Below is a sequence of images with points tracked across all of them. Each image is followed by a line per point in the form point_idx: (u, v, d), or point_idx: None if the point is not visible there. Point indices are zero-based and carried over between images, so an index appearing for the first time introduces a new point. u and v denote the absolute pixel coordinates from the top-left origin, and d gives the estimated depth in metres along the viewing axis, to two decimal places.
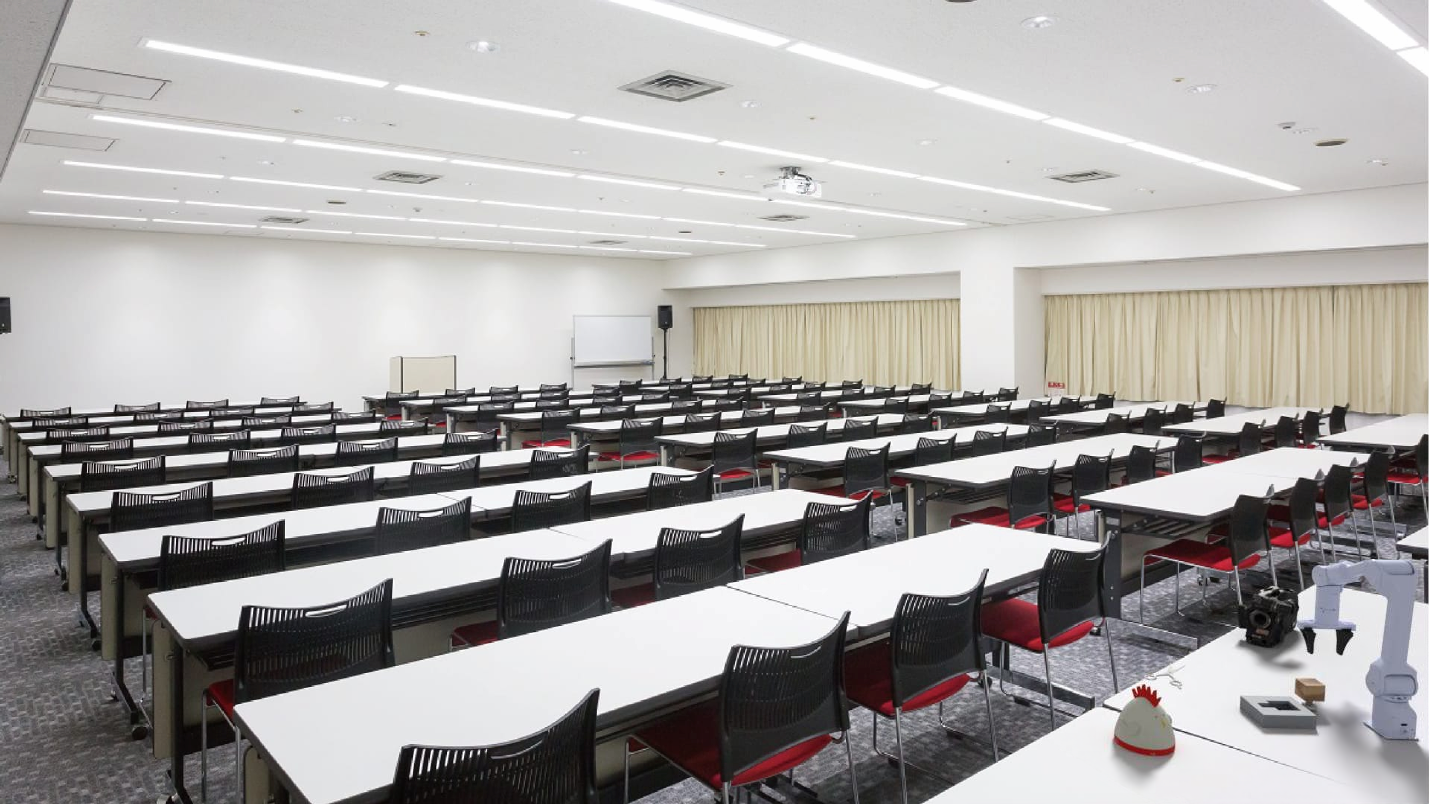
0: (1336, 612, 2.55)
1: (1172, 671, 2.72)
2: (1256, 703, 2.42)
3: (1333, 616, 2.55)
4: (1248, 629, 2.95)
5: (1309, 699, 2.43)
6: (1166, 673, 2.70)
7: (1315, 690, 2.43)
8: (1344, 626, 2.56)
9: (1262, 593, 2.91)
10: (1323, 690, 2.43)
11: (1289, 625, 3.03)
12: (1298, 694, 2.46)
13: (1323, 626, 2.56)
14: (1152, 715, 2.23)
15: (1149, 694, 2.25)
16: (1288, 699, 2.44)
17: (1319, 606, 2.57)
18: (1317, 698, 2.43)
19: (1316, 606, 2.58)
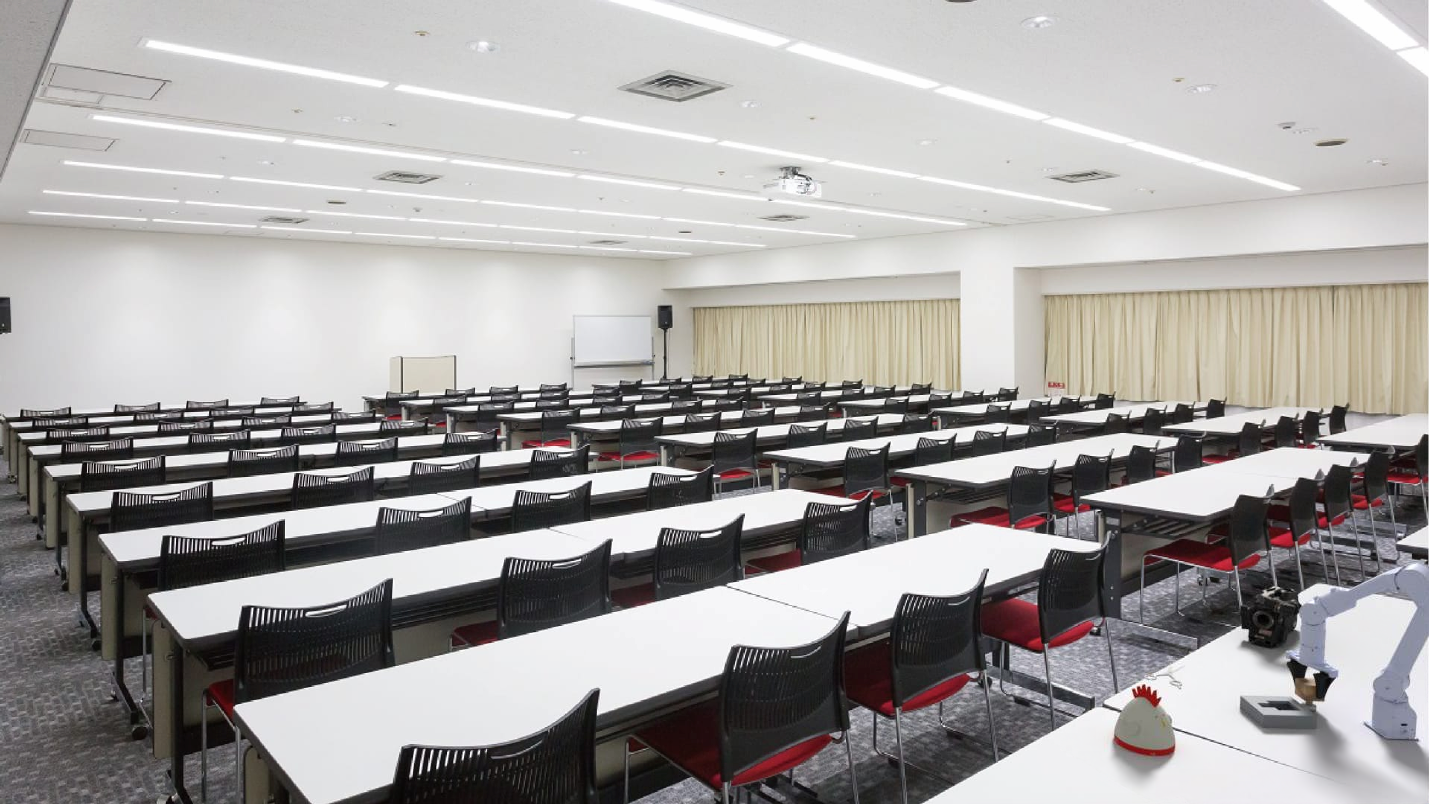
0: (1308, 649, 2.42)
1: (1172, 671, 2.72)
2: (1256, 703, 2.42)
3: (1304, 652, 2.43)
4: (1251, 630, 2.94)
5: (1309, 699, 2.43)
6: (1166, 673, 2.70)
7: (1315, 690, 2.43)
8: (1318, 667, 2.40)
9: (1265, 593, 2.91)
10: None
11: (1290, 625, 3.03)
12: (1298, 694, 2.46)
13: (1297, 660, 2.46)
14: (1152, 715, 2.23)
15: (1149, 694, 2.25)
16: (1288, 699, 2.44)
17: (1313, 646, 2.42)
18: None
19: None
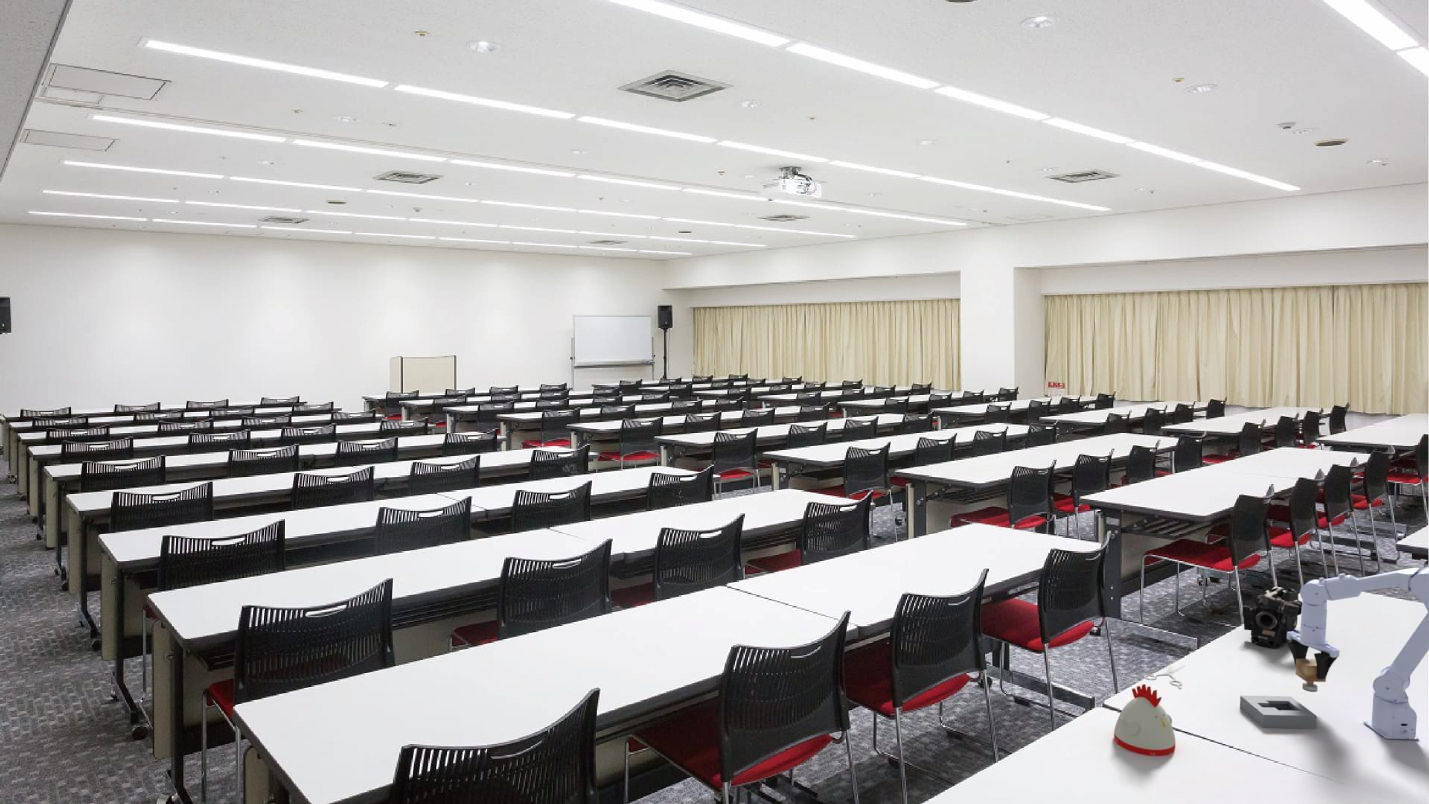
0: (1309, 629, 2.42)
1: (1172, 671, 2.72)
2: (1256, 703, 2.42)
3: (1305, 632, 2.43)
4: (1254, 630, 2.94)
5: (1310, 679, 2.43)
6: (1166, 673, 2.70)
7: (1316, 670, 2.42)
8: (1319, 647, 2.40)
9: (1268, 594, 2.90)
10: None
11: (1291, 625, 3.03)
12: (1299, 675, 2.46)
13: (1298, 640, 2.45)
14: (1152, 715, 2.23)
15: (1149, 694, 2.25)
16: (1288, 699, 2.44)
17: (1314, 626, 2.41)
18: None
19: None
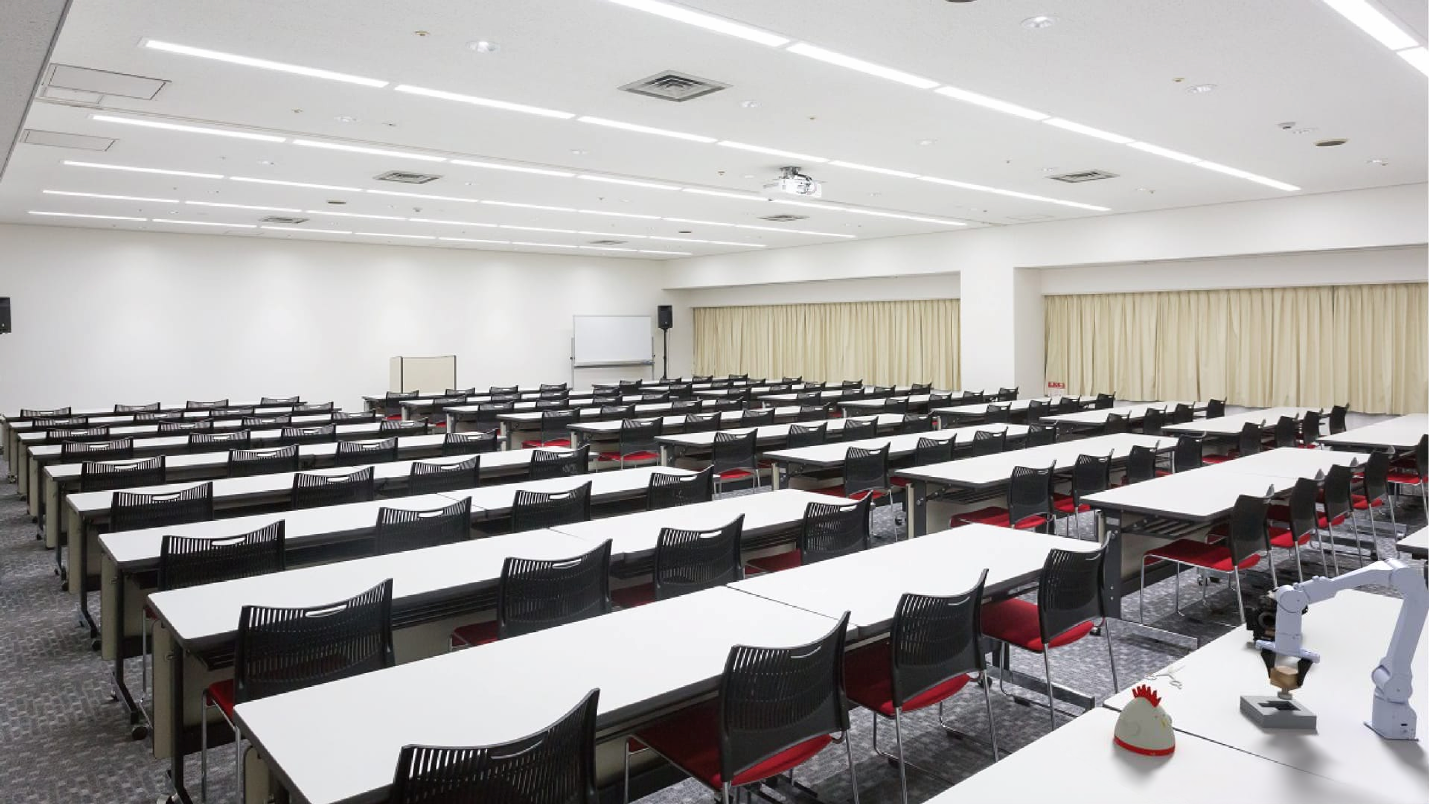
0: (1290, 637, 2.36)
1: (1172, 671, 2.72)
2: (1256, 703, 2.42)
3: (1285, 641, 2.37)
4: (1257, 631, 2.93)
5: (1291, 688, 2.37)
6: (1166, 673, 2.70)
7: (1295, 678, 2.37)
8: (1301, 655, 2.35)
9: (1271, 594, 2.90)
10: None
11: None
12: (1276, 684, 2.40)
13: (1275, 649, 2.39)
14: (1152, 715, 2.23)
15: (1149, 694, 2.25)
16: None
17: (1294, 633, 2.36)
18: (1296, 686, 2.38)
19: None
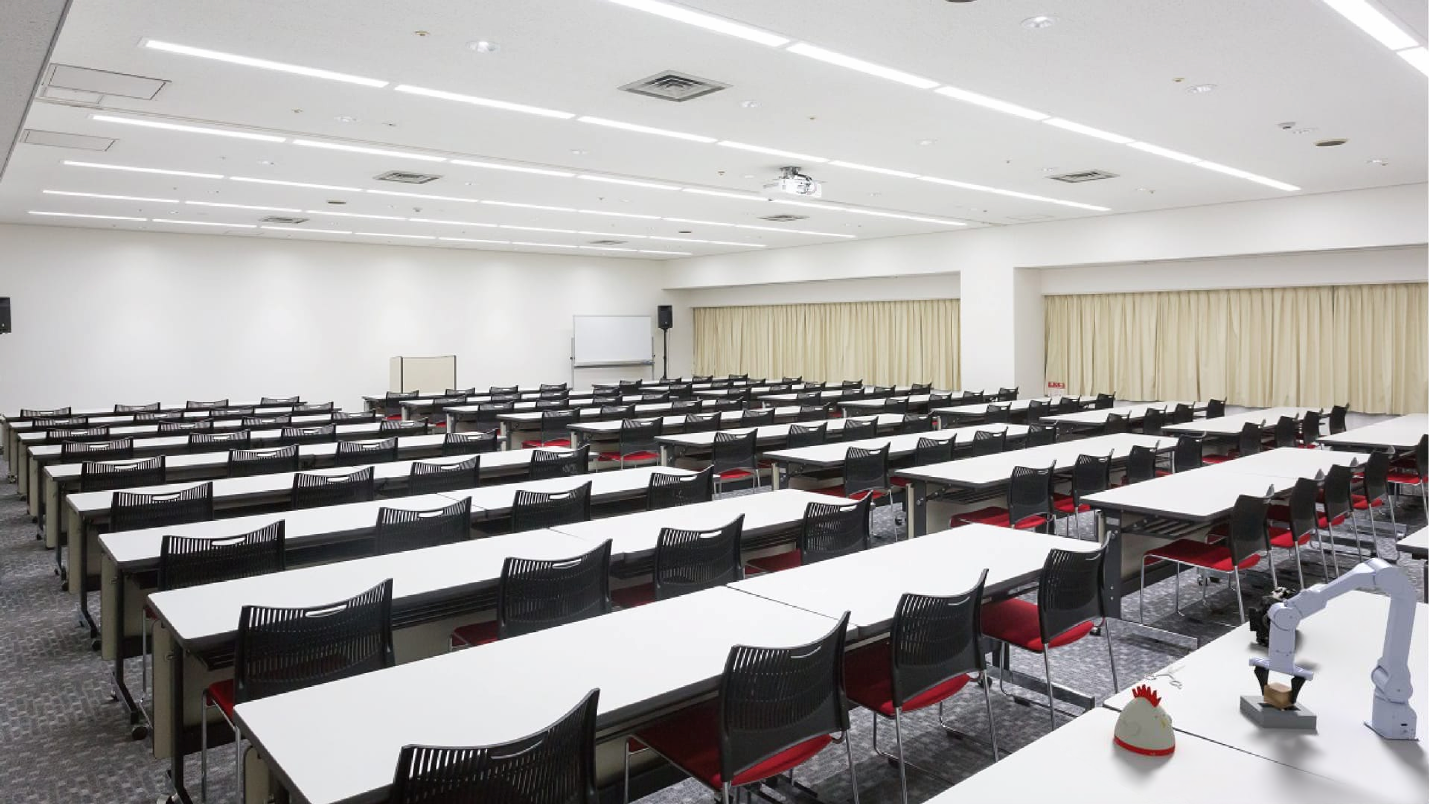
0: (1283, 655, 2.36)
1: (1172, 671, 2.72)
2: (1256, 703, 2.42)
3: (1279, 658, 2.37)
4: (1261, 632, 2.92)
5: (1284, 706, 2.37)
6: (1166, 673, 2.70)
7: (1288, 695, 2.38)
8: (1295, 672, 2.35)
9: (1275, 595, 2.89)
10: None
11: None
12: (1270, 702, 2.40)
13: (1269, 667, 2.39)
14: (1152, 715, 2.23)
15: (1149, 694, 2.25)
16: None
17: (1288, 651, 2.36)
18: (1289, 703, 2.38)
19: None
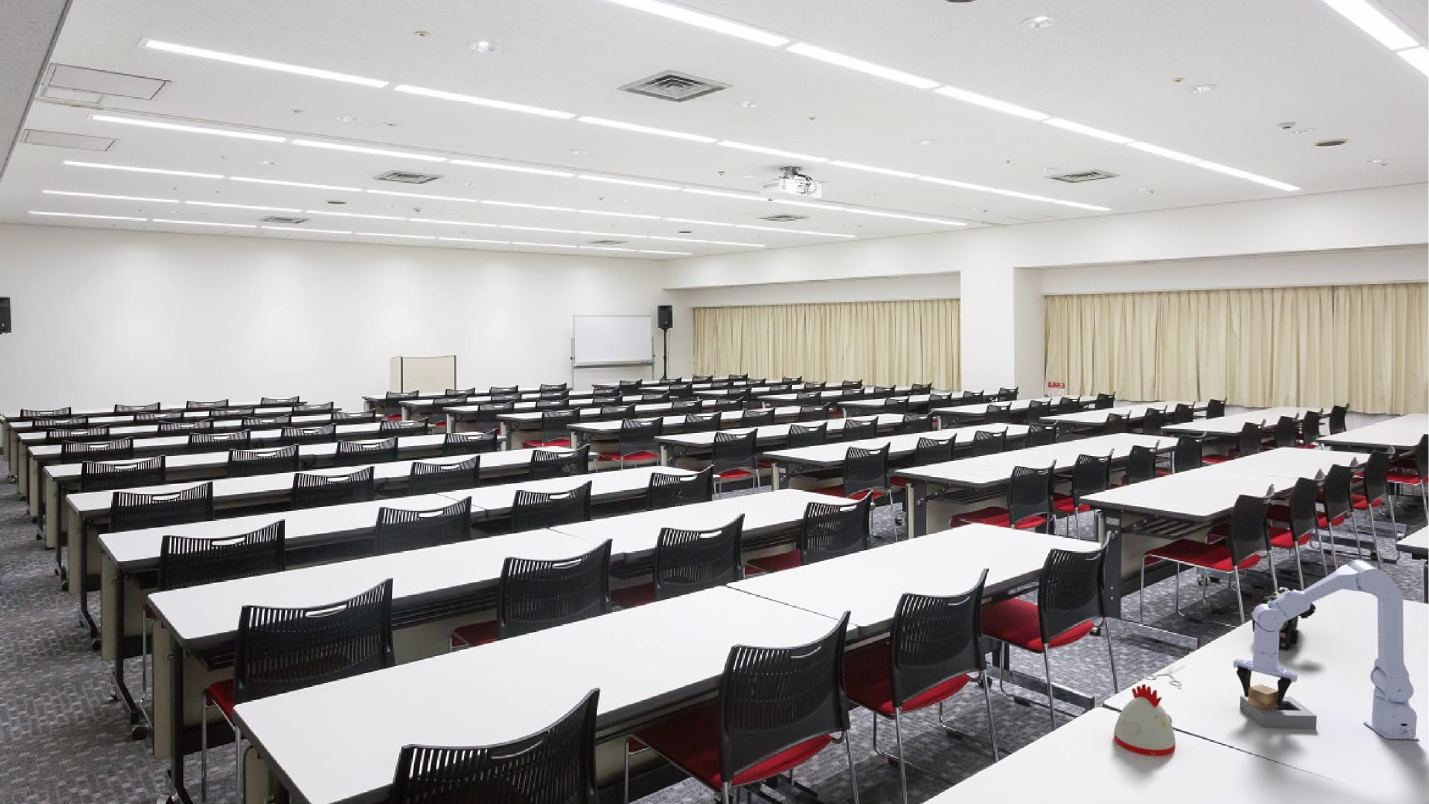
0: (1268, 656, 2.37)
1: (1172, 671, 2.72)
2: None
3: (1264, 660, 2.37)
4: None
5: (1269, 707, 2.38)
6: (1166, 673, 2.70)
7: (1273, 697, 2.38)
8: (1279, 674, 2.36)
9: (1279, 595, 2.89)
10: (1277, 695, 2.39)
11: (1294, 625, 3.03)
12: (1254, 704, 2.40)
13: (1253, 668, 2.39)
14: (1152, 715, 2.23)
15: (1149, 694, 2.25)
16: (1288, 699, 2.44)
17: (1272, 652, 2.36)
18: (1274, 705, 2.39)
19: None
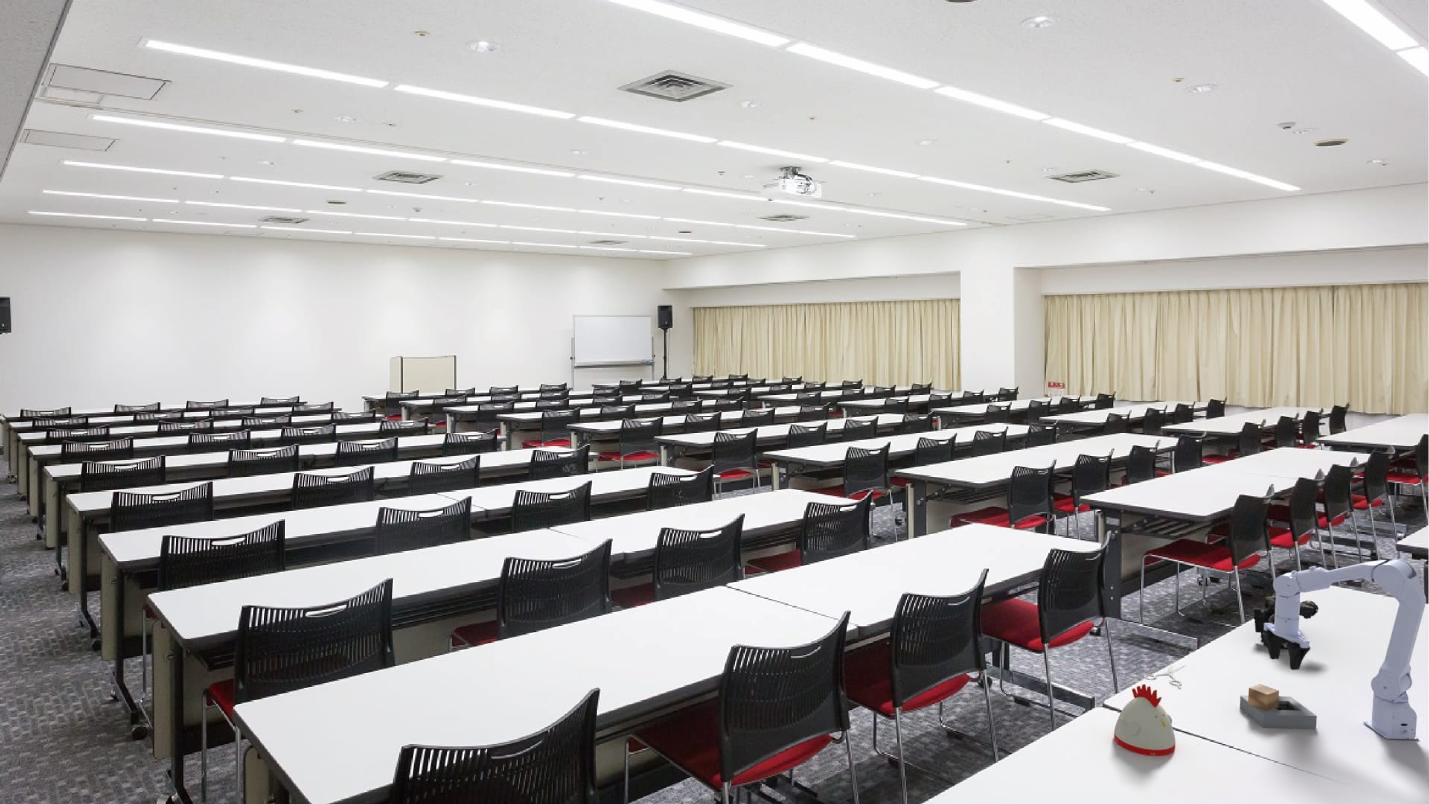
0: (1281, 620, 2.49)
1: (1172, 671, 2.72)
2: None
3: (1278, 623, 2.50)
4: None
5: (1269, 707, 2.38)
6: (1166, 673, 2.70)
7: (1273, 697, 2.38)
8: (1290, 638, 2.47)
9: None
10: (1277, 695, 2.39)
11: None
12: (1254, 704, 2.40)
13: (1272, 631, 2.53)
14: (1152, 715, 2.23)
15: (1149, 694, 2.25)
16: (1288, 699, 2.44)
17: (1286, 617, 2.48)
18: (1274, 705, 2.39)
19: None
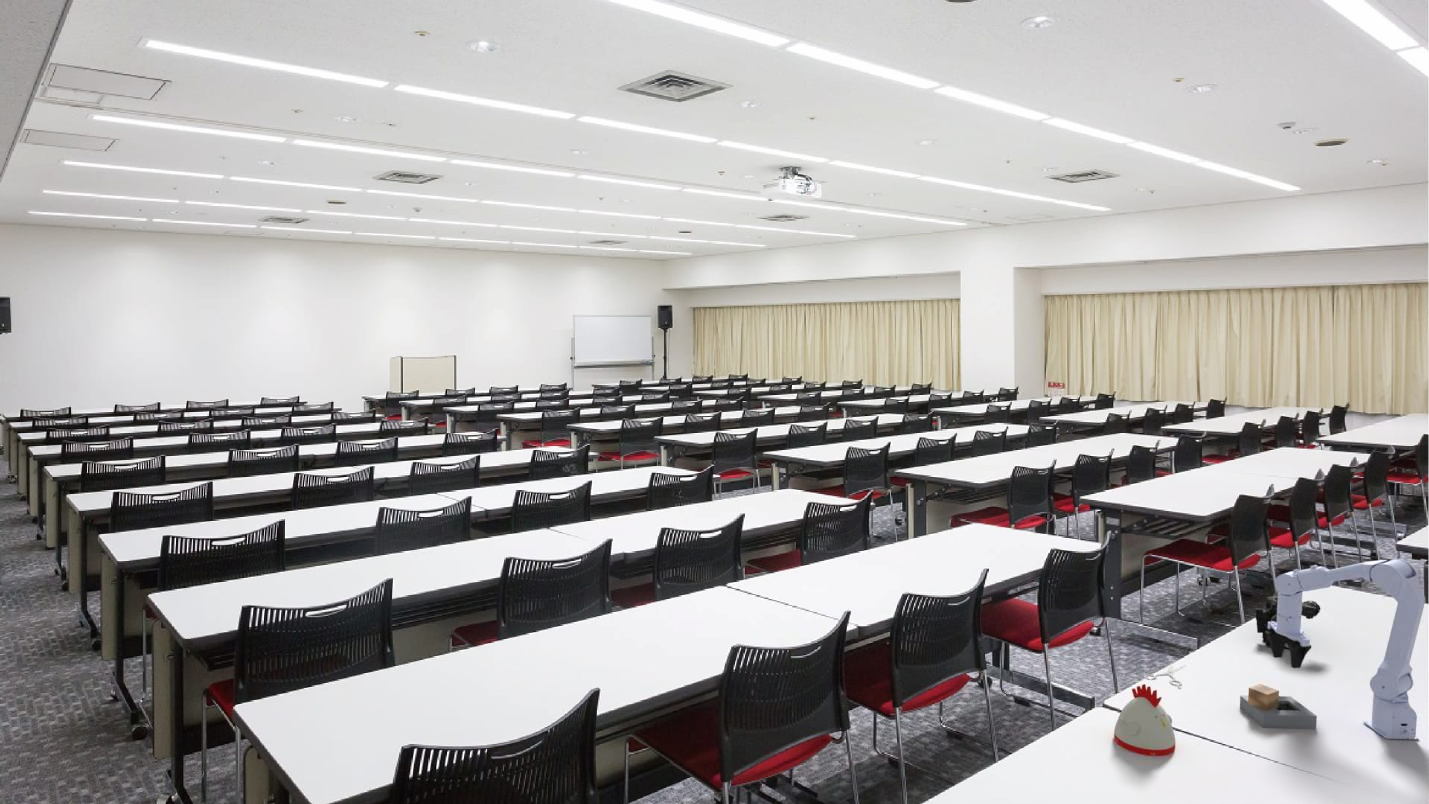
0: (1283, 618, 2.50)
1: (1172, 671, 2.72)
2: None
3: (1280, 621, 2.51)
4: None
5: (1269, 707, 2.38)
6: (1166, 673, 2.70)
7: (1273, 697, 2.38)
8: (1291, 636, 2.48)
9: None
10: (1277, 695, 2.39)
11: None
12: (1254, 704, 2.40)
13: (1274, 629, 2.54)
14: (1152, 715, 2.23)
15: (1149, 694, 2.25)
16: (1288, 699, 2.44)
17: (1287, 615, 2.49)
18: (1274, 705, 2.39)
19: None
